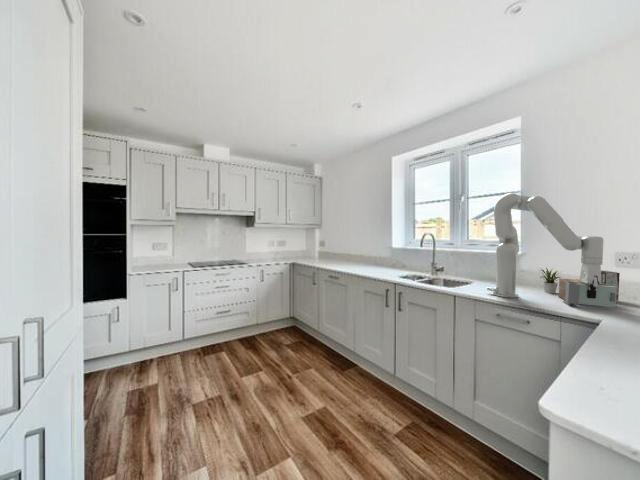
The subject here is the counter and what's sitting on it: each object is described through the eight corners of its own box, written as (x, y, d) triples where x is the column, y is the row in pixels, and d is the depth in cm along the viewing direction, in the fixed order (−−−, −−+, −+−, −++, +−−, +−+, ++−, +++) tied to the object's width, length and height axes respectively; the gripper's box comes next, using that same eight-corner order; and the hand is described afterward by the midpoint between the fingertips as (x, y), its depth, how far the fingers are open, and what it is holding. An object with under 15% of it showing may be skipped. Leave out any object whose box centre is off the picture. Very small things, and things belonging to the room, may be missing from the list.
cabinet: (569, 306, 136) (570, 284, 136) (555, 296, 156) (555, 278, 156) (617, 311, 128) (618, 288, 128) (596, 300, 148) (596, 280, 148)
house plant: (527, 290, 173) (528, 265, 173) (542, 288, 178) (543, 264, 177) (552, 295, 160) (553, 268, 159) (567, 293, 164) (568, 267, 163)
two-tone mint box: (568, 303, 137) (569, 283, 136) (565, 301, 140) (566, 282, 140) (616, 308, 129) (617, 287, 128) (612, 306, 132) (613, 285, 132)
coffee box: (619, 302, 144) (620, 272, 144) (604, 301, 146) (606, 272, 145) (604, 298, 153) (606, 270, 153) (591, 297, 154) (592, 270, 154)
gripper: (575, 259, 142) (574, 293, 143) (588, 262, 128) (586, 300, 129) (594, 259, 139) (593, 295, 140) (610, 263, 125) (608, 302, 125)
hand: (590, 297), depth 134 cm, fingers closed on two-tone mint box, 2 cm apart
